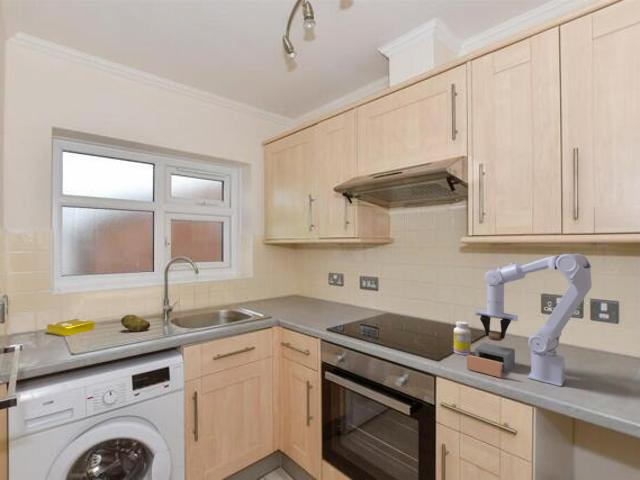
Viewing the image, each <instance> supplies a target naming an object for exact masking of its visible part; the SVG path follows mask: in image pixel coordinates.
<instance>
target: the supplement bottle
mask: <svg viewBox="0 0 640 480" xmlns="http://www.w3.org/2000/svg"><path fill="white" fill-rule="evenodd" d="M455 325H456V327H454V328H453V352H454V353H455V354H458V355H461V356H467V355H471V352H472V348H471V347H472V344H471V342H472V341H471V340H472V338H471V337H472V336H471V335H472V332H471V331H472V330H470V328H468V327H469V323H468V322H466V321H462V320H461V321H459V320H457V321H456V322H455Z"/></svg>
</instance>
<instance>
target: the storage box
mask: <svg viewBox="0 0 640 480" xmlns="http://www.w3.org/2000/svg"><path fill="white" fill-rule="evenodd" d="M474 349H475V350H474V356H476V357H480V358H485V359H490V360H494V361H498V362H502V363H504V369H503V372H506V373H508V372H509V371H510V370H511V369H512V368H513V367H514V366H515V363H516V362H515V361H516V360H515V358H516V354H515V353H516V351H515V350H516V349H515V348H511V347H508V346H507V347H506V346H502V345H497V344H492V343H487V342H483V343H481V344H480V345H478V346H476V347H475V348H474Z"/></svg>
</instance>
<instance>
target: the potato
mask: <svg viewBox="0 0 640 480" xmlns="http://www.w3.org/2000/svg"><path fill="white" fill-rule="evenodd" d="M120 323H121V325H122V327H124V328H125V329H128V330H130V331H131V332H143V331H146V330H148V329H149V328H150V327H151V324H150V321H149V320H147V319H144V318H142V317H140V316H138V315H135V314H127V315H124V316H123V317H122V318H121V320H120Z"/></svg>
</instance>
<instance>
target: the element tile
mask: <svg viewBox="0 0 640 480" xmlns="http://www.w3.org/2000/svg"><path fill="white" fill-rule="evenodd" d="M93 330H95V321H94V320H93V321H92V320H86V319H81V318H80V319H79V318H76V319H70V320H64V321H59V322H54V323H49V324H47V325H46V334H48V335H54V336H59V337H68V336H72V335H76V334H81V333H87V332H89V331H93Z"/></svg>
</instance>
